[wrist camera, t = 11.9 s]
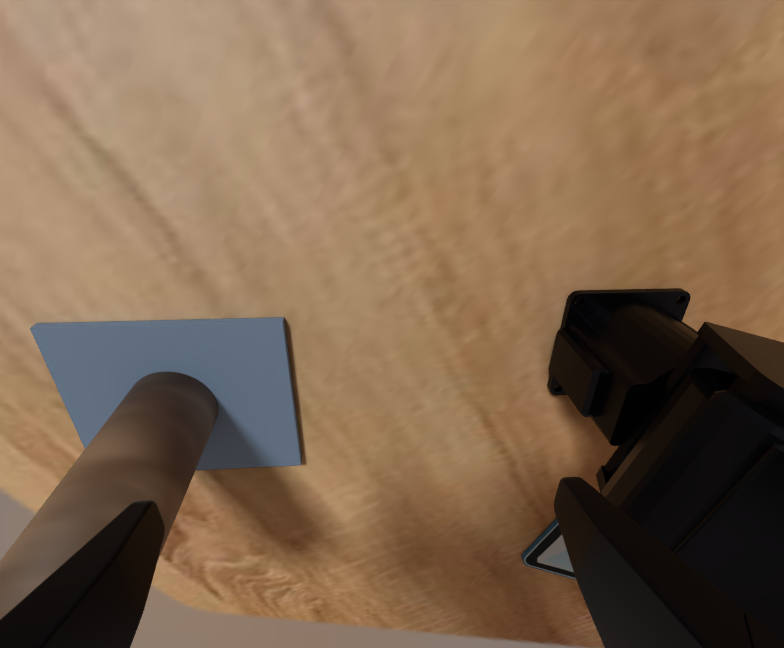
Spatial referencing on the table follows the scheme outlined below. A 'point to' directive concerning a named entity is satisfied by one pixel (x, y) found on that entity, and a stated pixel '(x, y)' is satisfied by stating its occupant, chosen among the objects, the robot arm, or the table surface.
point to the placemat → (191, 357)
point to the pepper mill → (116, 477)
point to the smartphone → (549, 553)
